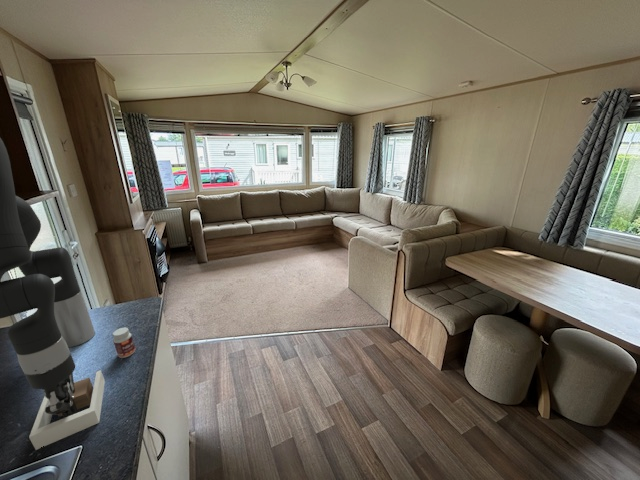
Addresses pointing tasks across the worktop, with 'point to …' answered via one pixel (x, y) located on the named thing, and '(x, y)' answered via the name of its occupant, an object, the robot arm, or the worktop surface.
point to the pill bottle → (123, 342)
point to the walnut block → (82, 393)
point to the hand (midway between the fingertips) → (71, 416)
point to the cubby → (67, 418)
